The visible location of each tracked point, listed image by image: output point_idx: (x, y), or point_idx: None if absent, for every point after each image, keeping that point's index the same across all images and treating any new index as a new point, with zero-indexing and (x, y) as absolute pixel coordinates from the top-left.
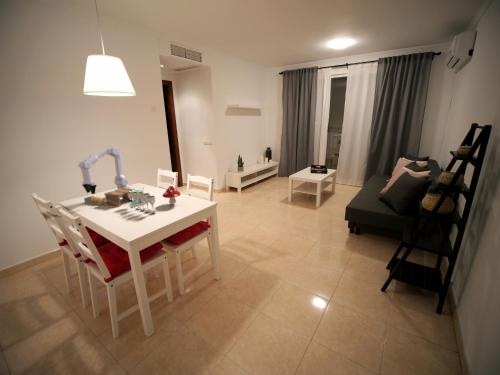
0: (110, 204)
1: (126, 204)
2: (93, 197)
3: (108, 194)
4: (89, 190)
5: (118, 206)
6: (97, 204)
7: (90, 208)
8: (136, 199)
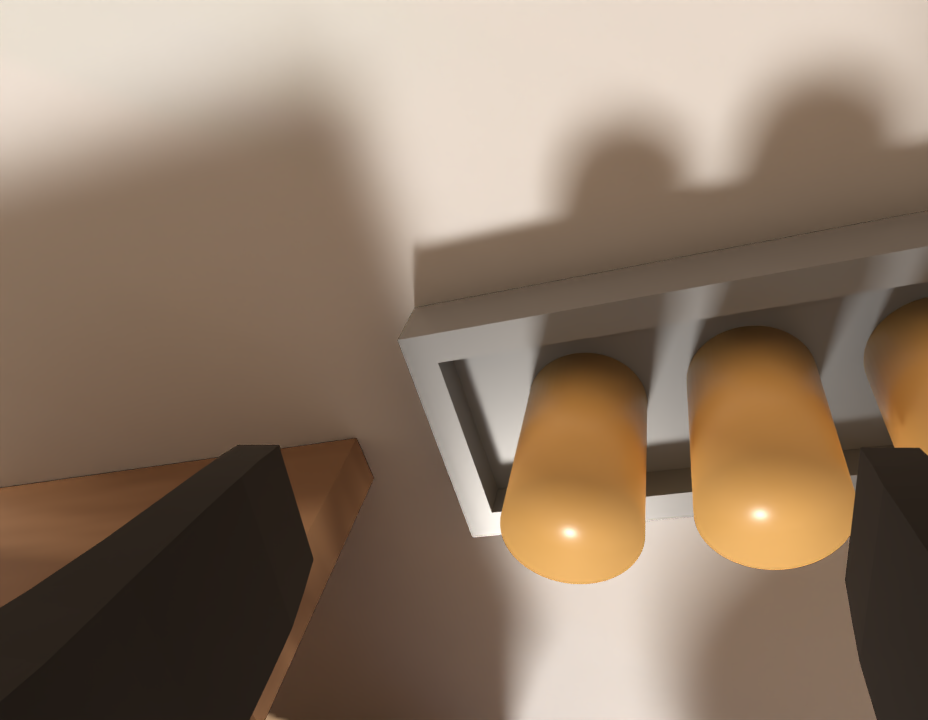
0: None
1: None
2: None
3: None
4: (880, 668)
5: (9, 487)
6: (514, 302)
7: (365, 23)
8: None
